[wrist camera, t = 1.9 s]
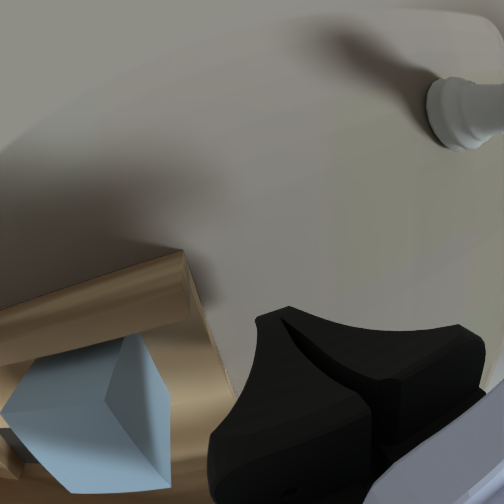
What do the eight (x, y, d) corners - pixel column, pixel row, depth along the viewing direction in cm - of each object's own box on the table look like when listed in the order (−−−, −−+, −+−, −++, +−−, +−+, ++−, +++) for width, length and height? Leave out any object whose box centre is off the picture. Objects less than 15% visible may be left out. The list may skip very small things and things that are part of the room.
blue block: (170, 395, 12) (171, 487, 7) (93, 410, 11) (71, 493, 6) (132, 315, 11) (104, 400, 6) (50, 338, 10) (-1, 413, 5)
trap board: (254, 438, 16) (275, 503, 11) (-2, 465, 13) (-18, 505, 8) (183, 250, 13) (181, 290, 8) (-85, 341, 10) (-121, 373, 5)
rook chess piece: (469, 157, 15) (576, 163, 7) (423, 145, 14) (549, 141, 6) (465, 91, 14) (564, 77, 6) (418, 70, 13) (530, 38, 5)
